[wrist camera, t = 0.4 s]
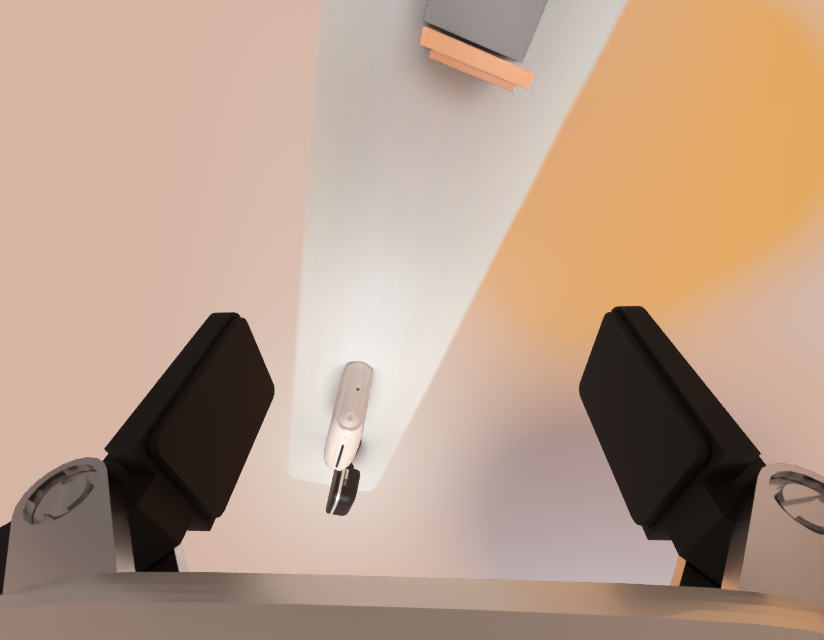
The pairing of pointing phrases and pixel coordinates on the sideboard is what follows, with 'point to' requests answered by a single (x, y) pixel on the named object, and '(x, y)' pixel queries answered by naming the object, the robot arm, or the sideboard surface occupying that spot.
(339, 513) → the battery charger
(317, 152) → the sideboard surface
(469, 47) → the side door
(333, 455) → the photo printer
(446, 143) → the sideboard surface
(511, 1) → the camera housing
